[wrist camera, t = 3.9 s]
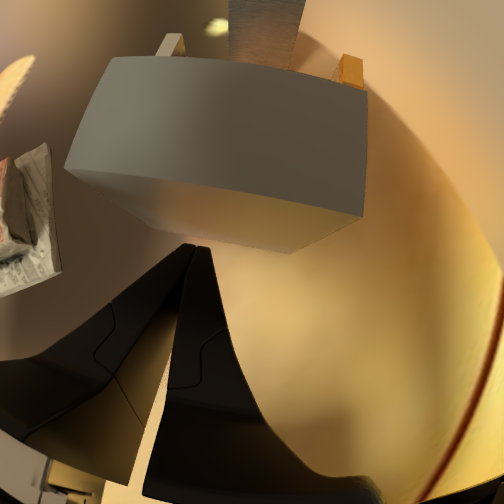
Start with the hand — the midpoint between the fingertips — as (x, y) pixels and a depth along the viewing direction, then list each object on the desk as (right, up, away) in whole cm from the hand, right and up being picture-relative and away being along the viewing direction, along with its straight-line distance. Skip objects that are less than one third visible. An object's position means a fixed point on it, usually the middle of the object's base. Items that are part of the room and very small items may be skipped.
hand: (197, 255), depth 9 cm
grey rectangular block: (0, +3, +8) cm, 8 cm away
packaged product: (-20, +1, +7) cm, 22 cm away
